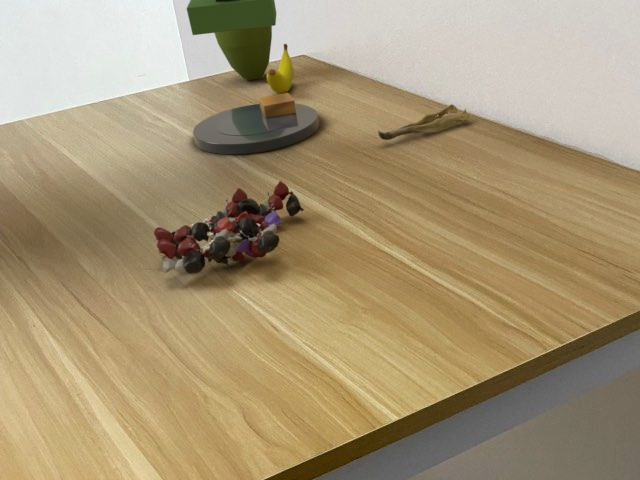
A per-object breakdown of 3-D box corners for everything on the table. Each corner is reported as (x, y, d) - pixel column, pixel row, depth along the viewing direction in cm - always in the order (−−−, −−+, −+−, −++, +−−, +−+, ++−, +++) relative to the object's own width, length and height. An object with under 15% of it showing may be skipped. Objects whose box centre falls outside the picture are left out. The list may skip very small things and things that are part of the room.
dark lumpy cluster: (316, 266, 71) (305, 211, 69) (156, 295, 71) (138, 241, 68) (305, 221, 83) (296, 173, 81) (168, 246, 83) (154, 198, 80)
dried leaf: (384, 133, 92) (385, 151, 94) (472, 105, 97) (472, 122, 99) (364, 124, 95) (366, 141, 96) (451, 96, 100) (452, 114, 101)
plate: (190, 161, 97) (187, 150, 96) (199, 121, 109) (196, 111, 108) (321, 144, 98) (320, 133, 97) (316, 105, 109) (315, 95, 108)
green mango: (213, 86, 121) (193, -5, 113) (246, 70, 126) (228, -18, 118) (260, 89, 118) (242, -5, 110) (292, 72, 123) (277, -18, 115)
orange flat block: (265, 118, 103) (263, 105, 102) (260, 110, 106) (258, 97, 105) (296, 113, 103) (294, 100, 102) (290, 104, 106) (288, 92, 105)
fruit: (285, 81, 119) (278, 43, 116) (298, 80, 119) (292, 42, 116) (269, 103, 112) (261, 62, 109) (283, 102, 112) (276, 61, 108)
